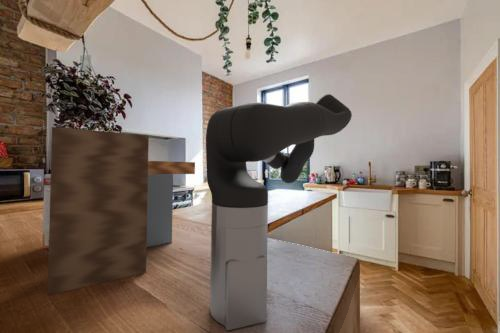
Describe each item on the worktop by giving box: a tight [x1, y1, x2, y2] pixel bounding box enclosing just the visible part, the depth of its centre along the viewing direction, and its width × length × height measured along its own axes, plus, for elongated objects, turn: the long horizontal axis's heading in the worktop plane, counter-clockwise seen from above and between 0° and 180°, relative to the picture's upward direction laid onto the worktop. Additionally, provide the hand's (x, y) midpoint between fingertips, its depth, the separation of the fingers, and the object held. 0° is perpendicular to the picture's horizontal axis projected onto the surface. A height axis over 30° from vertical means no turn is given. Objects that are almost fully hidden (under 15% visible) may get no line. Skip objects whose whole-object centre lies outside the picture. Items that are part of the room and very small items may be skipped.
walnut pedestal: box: [47, 126, 150, 296], centre depth 48 cm, size 16×10×30 cm, turn 124°
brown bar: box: [148, 160, 196, 175], centre depth 70 cm, size 24×4×4 cm, turn 124°
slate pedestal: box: [146, 174, 174, 248], centre depth 68 cm, size 16×10×21 cm, turn 124°
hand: (230, 122), depth 77 cm, fingers open, 8 cm apart
